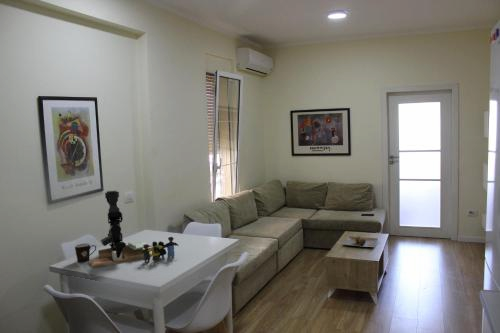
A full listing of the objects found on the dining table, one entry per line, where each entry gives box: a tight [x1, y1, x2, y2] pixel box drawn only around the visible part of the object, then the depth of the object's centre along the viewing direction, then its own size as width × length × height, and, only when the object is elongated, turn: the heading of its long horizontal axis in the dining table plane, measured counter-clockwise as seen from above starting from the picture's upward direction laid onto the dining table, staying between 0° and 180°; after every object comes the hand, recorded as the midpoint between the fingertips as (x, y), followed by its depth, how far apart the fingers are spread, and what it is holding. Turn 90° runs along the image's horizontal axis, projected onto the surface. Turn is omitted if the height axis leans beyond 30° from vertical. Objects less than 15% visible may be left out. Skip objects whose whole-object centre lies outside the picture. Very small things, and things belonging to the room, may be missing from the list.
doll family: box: [140, 236, 179, 264], centre depth 249 cm, size 23×9×13 cm, turn 139°
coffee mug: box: [74, 242, 97, 263], centre depth 252 cm, size 12×9×10 cm
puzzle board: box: [88, 242, 153, 269], centre depth 251 cm, size 13×34×7 cm, turn 124°
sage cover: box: [127, 241, 153, 250], centre depth 258 cm, size 10×11×2 cm
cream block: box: [112, 251, 122, 261], centre depth 250 cm, size 4×4×6 cm
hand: (117, 256), depth 250 cm, fingers open, 5 cm apart
